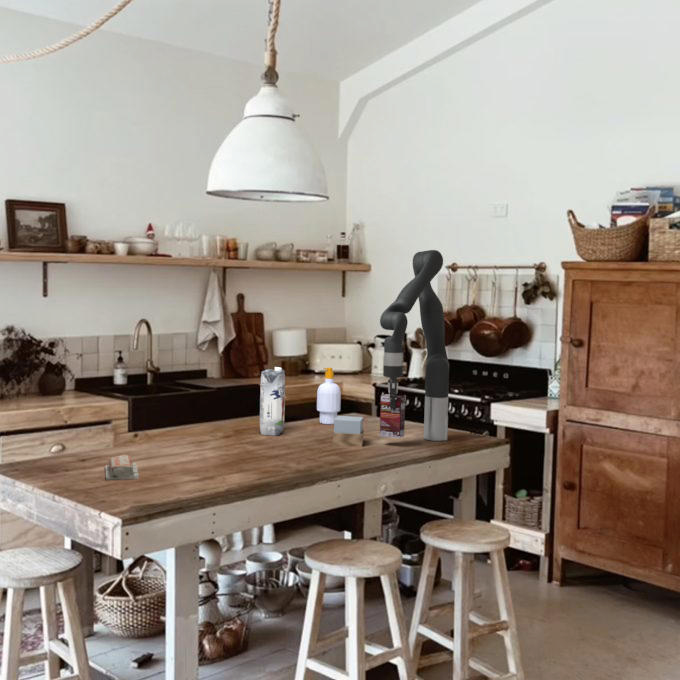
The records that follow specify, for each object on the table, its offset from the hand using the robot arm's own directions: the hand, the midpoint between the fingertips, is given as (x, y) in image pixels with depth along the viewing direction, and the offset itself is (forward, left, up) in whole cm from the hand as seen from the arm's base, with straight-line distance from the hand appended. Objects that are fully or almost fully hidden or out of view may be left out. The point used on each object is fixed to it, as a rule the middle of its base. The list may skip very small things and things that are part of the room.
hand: (392, 407), depth 335 cm
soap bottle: (+28, -44, -15) cm, 54 cm away
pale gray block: (+17, -1, -10) cm, 19 cm away
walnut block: (+17, -1, -15) cm, 22 cm away
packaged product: (+86, +62, -15) cm, 107 cm away
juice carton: (+48, -15, -15) cm, 53 cm away
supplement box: (0, 0, -11) cm, 11 cm away
